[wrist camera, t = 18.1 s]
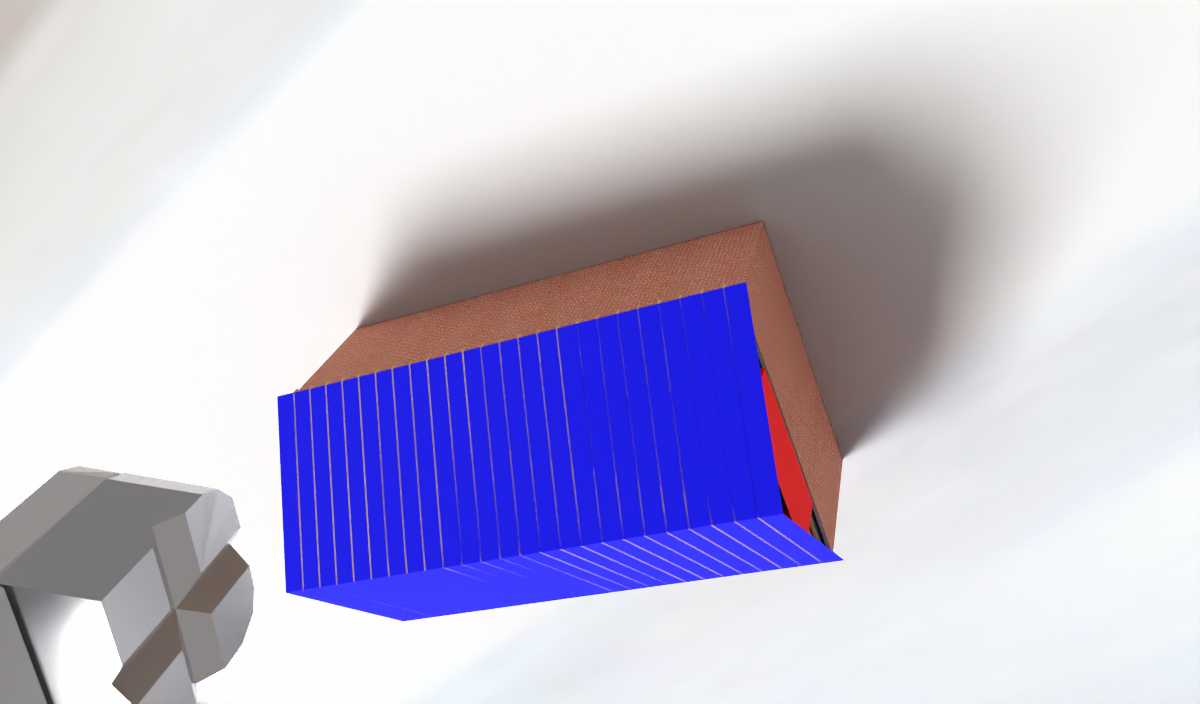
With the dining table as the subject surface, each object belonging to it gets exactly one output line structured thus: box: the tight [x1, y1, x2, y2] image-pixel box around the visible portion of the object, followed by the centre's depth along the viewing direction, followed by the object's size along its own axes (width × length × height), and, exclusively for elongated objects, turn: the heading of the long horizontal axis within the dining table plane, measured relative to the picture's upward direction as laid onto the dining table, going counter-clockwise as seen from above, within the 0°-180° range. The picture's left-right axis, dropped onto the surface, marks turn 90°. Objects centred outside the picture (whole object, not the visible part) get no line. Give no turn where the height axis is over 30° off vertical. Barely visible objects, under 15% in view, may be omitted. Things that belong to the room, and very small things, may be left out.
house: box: [278, 221, 843, 621], centre depth 44 cm, size 12×20×12 cm, turn 112°
